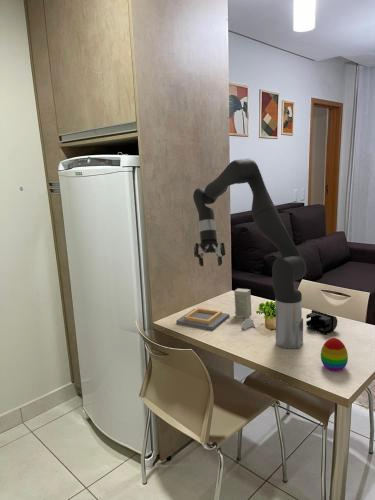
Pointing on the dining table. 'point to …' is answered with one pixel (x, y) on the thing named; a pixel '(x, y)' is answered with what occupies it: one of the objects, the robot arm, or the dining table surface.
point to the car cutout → (247, 323)
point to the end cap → (321, 322)
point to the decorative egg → (334, 355)
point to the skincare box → (243, 303)
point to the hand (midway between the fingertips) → (211, 265)
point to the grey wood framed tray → (203, 318)
